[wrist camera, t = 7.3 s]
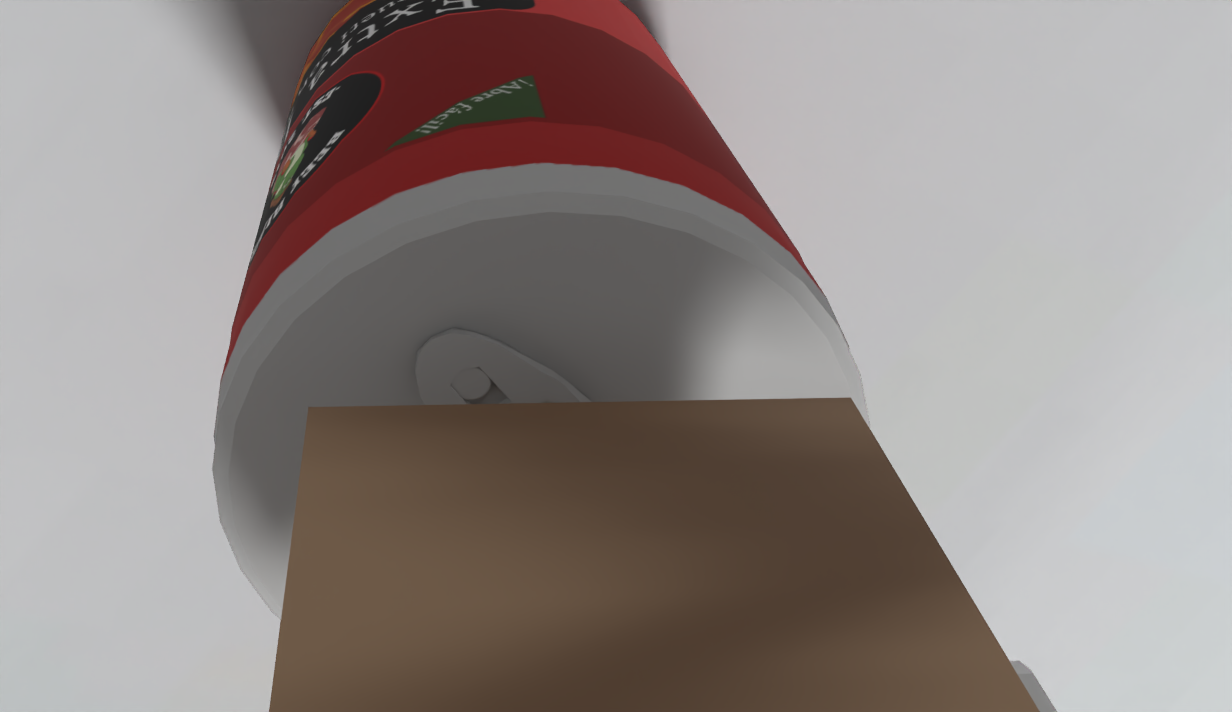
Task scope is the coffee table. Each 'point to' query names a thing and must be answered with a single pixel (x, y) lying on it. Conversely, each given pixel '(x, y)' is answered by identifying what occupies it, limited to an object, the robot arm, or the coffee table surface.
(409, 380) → the canned food
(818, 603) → the tan cube
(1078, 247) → the coffee table surface
